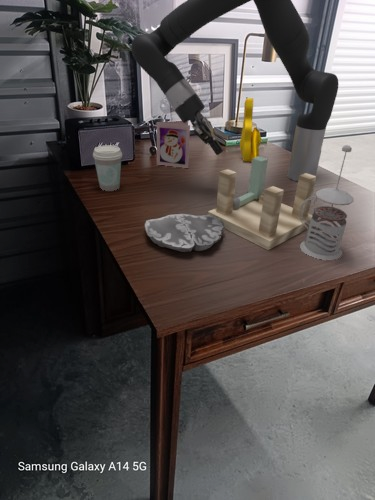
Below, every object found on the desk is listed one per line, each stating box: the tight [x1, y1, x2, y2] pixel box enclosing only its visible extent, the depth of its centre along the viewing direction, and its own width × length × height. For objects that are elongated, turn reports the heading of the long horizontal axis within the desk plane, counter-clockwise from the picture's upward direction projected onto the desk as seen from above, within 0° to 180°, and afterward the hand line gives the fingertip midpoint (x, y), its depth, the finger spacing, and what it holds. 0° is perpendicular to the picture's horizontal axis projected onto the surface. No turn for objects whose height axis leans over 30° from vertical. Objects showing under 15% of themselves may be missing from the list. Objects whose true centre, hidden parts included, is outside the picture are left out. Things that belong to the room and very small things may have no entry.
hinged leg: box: [233, 155, 269, 209], centre depth 104 cm, size 13×3×11 cm, turn 138°
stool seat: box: [207, 168, 317, 251], centre depth 100 cm, size 20×20×14 cm
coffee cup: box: [92, 145, 123, 192], centre depth 116 cm, size 8×8×12 cm
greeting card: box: [156, 120, 191, 169], centre depth 135 cm, size 11×7×15 cm, turn 77°
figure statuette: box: [239, 97, 262, 163], centre depth 141 cm, size 18×8×22 cm, turn 174°
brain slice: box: [144, 213, 225, 253], centre depth 93 cm, size 20×17×3 cm
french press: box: [299, 144, 355, 261], centre depth 86 cm, size 10×12×25 cm
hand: (220, 153), depth 111 cm, fingers closed
